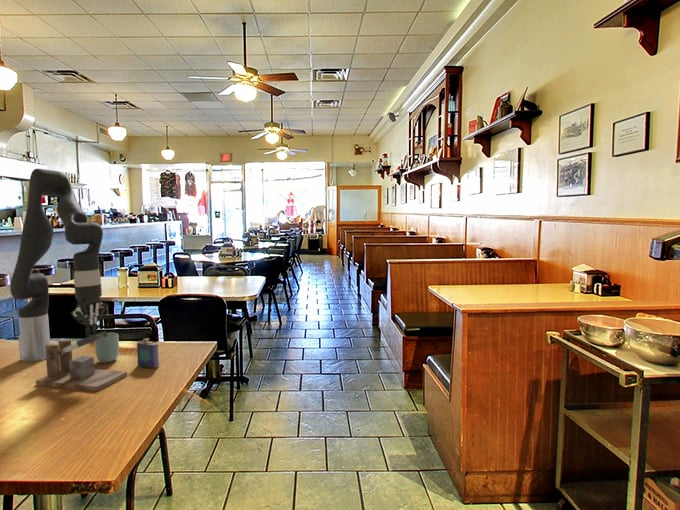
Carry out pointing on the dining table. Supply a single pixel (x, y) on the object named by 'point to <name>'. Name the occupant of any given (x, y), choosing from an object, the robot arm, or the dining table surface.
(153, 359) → the flask
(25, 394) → the dining table surface
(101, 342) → the cup
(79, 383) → the frame
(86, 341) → the lever
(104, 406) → the dining table surface
